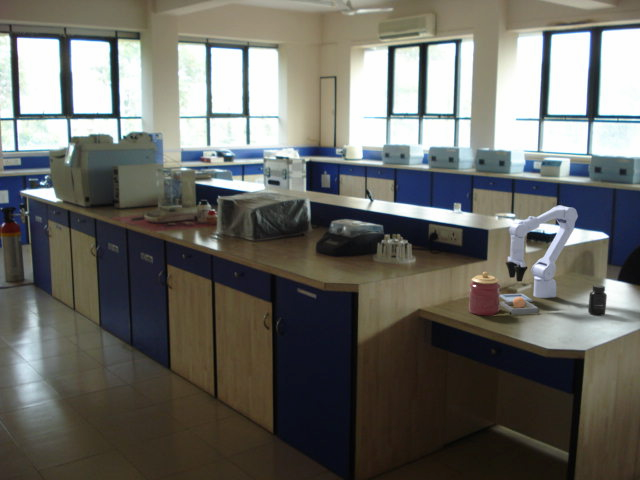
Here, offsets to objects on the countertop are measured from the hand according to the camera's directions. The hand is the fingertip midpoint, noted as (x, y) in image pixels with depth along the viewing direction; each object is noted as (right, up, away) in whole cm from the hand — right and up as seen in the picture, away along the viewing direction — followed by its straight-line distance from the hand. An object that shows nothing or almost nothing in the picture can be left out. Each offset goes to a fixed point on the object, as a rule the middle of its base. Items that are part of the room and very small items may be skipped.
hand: (515, 279), depth 307 cm
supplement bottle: (+29, -14, -20) cm, 37 cm away
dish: (0, -10, +1) cm, 10 cm away
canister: (-18, -13, -16) cm, 28 cm away
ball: (-3, -12, -14) cm, 18 cm away
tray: (-3, -13, -14) cm, 19 cm away
